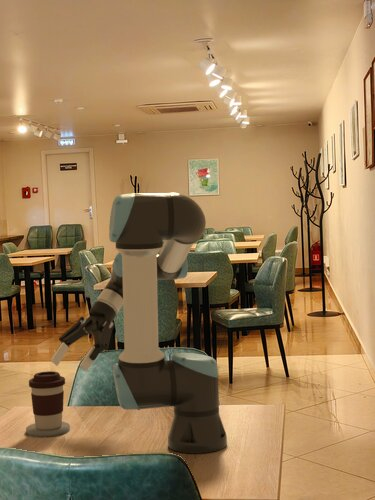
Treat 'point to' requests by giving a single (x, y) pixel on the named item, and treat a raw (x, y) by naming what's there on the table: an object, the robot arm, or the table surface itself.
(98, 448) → the table surface
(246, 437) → the table surface
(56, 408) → the coffee cup
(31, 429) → the slate coaster
